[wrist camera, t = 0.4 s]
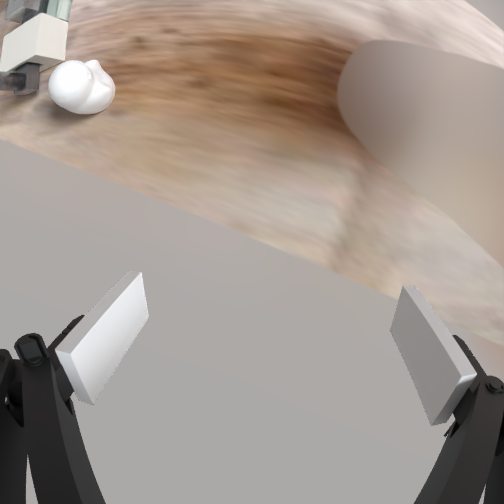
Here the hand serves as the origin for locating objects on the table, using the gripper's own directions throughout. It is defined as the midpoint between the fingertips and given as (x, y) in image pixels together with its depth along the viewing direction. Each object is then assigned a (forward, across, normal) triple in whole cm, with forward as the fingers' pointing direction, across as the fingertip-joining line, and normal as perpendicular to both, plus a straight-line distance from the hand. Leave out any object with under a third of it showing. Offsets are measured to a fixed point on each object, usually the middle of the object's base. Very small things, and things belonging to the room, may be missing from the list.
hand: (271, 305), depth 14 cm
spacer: (+22, -40, +36) cm, 58 cm away
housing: (+28, -40, +28) cm, 56 cm away
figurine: (+28, -26, +16) cm, 42 cm away
